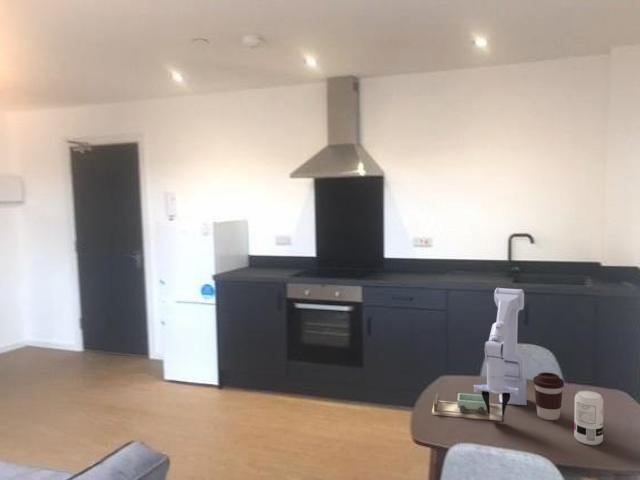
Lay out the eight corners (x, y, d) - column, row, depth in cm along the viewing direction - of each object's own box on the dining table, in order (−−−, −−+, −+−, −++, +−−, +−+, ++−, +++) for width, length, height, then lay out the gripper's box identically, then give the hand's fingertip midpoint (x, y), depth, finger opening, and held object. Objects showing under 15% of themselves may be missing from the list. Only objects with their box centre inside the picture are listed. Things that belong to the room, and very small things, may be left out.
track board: (500, 408, 194) (500, 397, 193) (501, 420, 183) (501, 409, 183) (434, 402, 201) (434, 392, 200) (431, 414, 190) (431, 403, 190)
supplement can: (568, 435, 171) (569, 390, 170) (592, 433, 172) (593, 389, 171) (583, 446, 163) (584, 400, 162) (608, 445, 164) (609, 398, 163)
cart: (489, 404, 194) (489, 394, 194) (490, 414, 185) (490, 404, 185) (458, 401, 197) (458, 392, 197) (457, 411, 188) (457, 401, 188)
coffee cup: (550, 424, 179) (550, 382, 178) (527, 414, 188) (527, 373, 187) (569, 418, 184) (570, 376, 182) (546, 408, 192) (546, 368, 191)
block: (501, 415, 183) (501, 404, 182) (502, 420, 179) (502, 409, 178) (489, 414, 184) (489, 403, 183) (489, 419, 180) (489, 408, 180)
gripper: (473, 377, 178) (473, 415, 179) (518, 380, 174) (518, 419, 175) (473, 370, 185) (474, 407, 186) (517, 373, 181) (517, 411, 182)
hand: (495, 413), depth 181 cm, fingers closed on block, 4 cm apart
